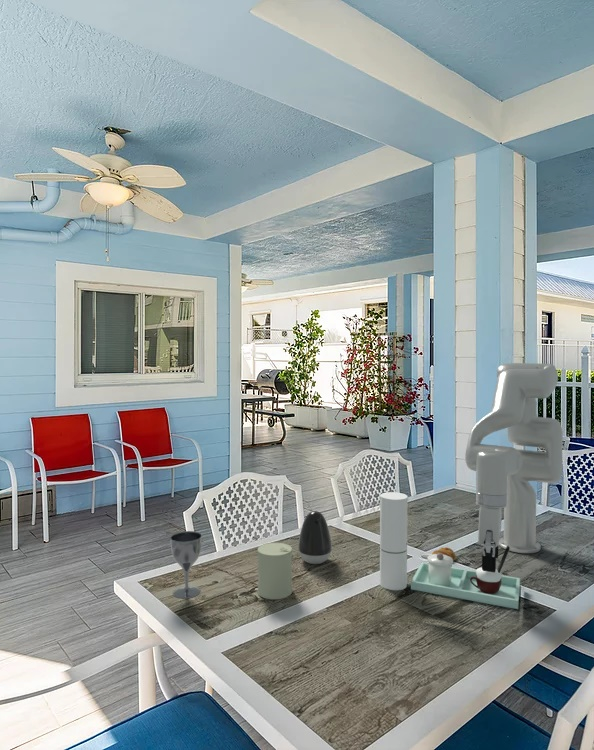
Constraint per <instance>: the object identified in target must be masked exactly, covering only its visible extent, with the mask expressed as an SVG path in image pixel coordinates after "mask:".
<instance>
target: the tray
mask: <svg viewBox="0 0 594 750" xmlns="http://www.w3.org/2000/svg"><path fill="white" fill-rule="evenodd" d="M476 575H477V574H476V570H473V569H466V568H459V567H453V566H452V583H451V586H450V587H445V586H440V585H434V584H429V582H428V580H429V562H422V561H421V563H420V565H419V566H418V568H417V570H416V572H415V573H414V575H413V577H412V579H411V581H410V590H412V591H418V592H424V593H429V594H434V595H439V596H445V597H450V598H455V599H461V600H467V601H471V602H472V601H473V602H477V603H482V604H488V605H494V606H499V607H504V608H508V609H514V610H519V605H520V604H519V602H520V601H519V600H520V587H521V578H520V577H514V576H508V575H503V574H502V577H501V579H502V580H501V586H500V589H499V591H498V592H496V593H494V594H487V593H484V592H482V591H481V590H480V589H478V588H477V587H475V586H474V585H473V584H472V583H471V581H470V579H471V577H476ZM472 582H473V583H474V584H475V585H476V586H477V582H476V579H472Z"/></svg>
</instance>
